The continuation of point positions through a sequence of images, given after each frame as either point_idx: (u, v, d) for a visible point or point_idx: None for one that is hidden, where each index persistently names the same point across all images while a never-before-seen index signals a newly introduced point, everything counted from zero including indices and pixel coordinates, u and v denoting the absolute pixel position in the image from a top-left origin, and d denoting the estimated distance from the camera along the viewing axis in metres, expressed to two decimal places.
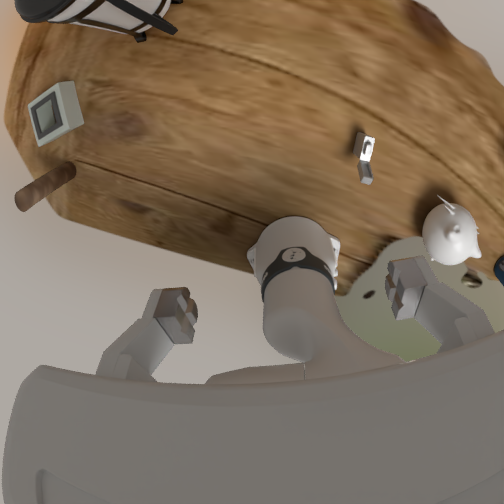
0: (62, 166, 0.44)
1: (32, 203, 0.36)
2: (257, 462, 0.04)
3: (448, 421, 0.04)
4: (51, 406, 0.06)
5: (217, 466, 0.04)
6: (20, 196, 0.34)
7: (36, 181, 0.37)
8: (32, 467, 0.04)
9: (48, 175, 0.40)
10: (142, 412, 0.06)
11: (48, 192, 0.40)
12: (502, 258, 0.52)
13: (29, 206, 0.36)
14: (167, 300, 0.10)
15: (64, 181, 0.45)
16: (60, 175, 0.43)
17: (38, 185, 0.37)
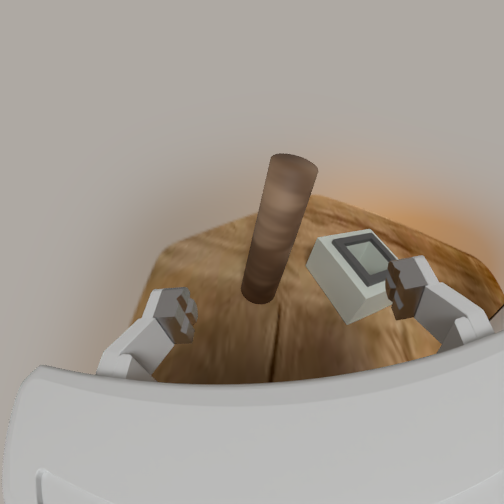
0: None
1: (283, 187, 0.21)
2: (257, 462, 0.04)
3: (448, 421, 0.04)
4: (51, 406, 0.06)
5: (217, 466, 0.04)
6: (306, 166, 0.22)
7: None
8: (32, 467, 0.04)
9: None
10: (142, 412, 0.06)
11: (269, 235, 0.24)
12: None
13: (283, 177, 0.21)
14: (167, 300, 0.10)
15: (258, 277, 0.28)
16: (278, 271, 0.28)
17: (301, 216, 0.24)
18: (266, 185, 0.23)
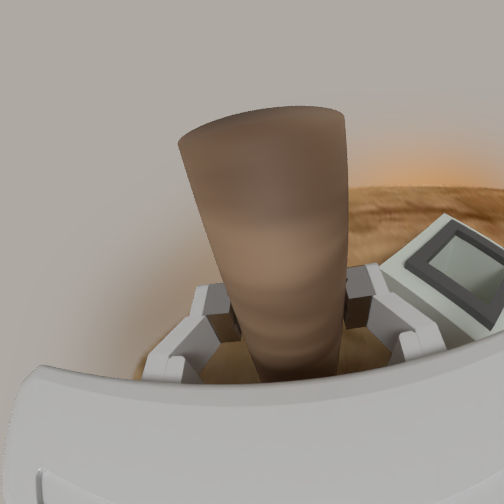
0: None
1: (245, 213, 0.06)
2: (257, 462, 0.04)
3: (448, 421, 0.04)
4: (51, 406, 0.06)
5: (217, 466, 0.04)
6: (300, 115, 0.06)
7: None
8: (32, 467, 0.04)
9: None
10: (142, 412, 0.06)
11: (273, 347, 0.09)
12: None
13: (226, 176, 0.05)
14: (216, 296, 0.10)
15: None
16: None
17: (343, 273, 0.08)
18: (203, 224, 0.07)
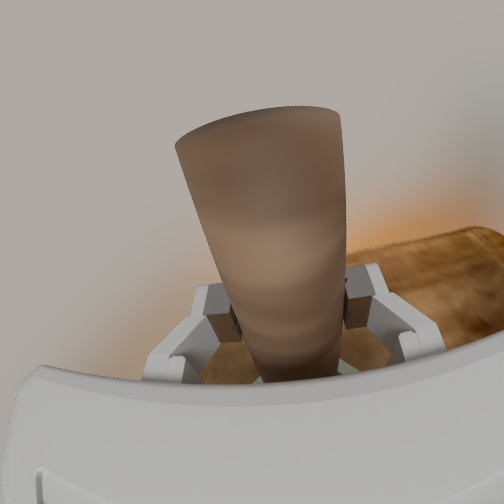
0: None
1: (242, 214, 0.06)
2: (257, 462, 0.04)
3: (447, 421, 0.04)
4: (51, 406, 0.06)
5: (217, 466, 0.04)
6: (296, 115, 0.06)
7: None
8: (32, 467, 0.04)
9: None
10: (141, 412, 0.06)
11: (273, 347, 0.09)
12: None
13: (222, 177, 0.05)
14: (217, 296, 0.10)
15: None
16: None
17: (341, 272, 0.08)
18: (202, 225, 0.07)
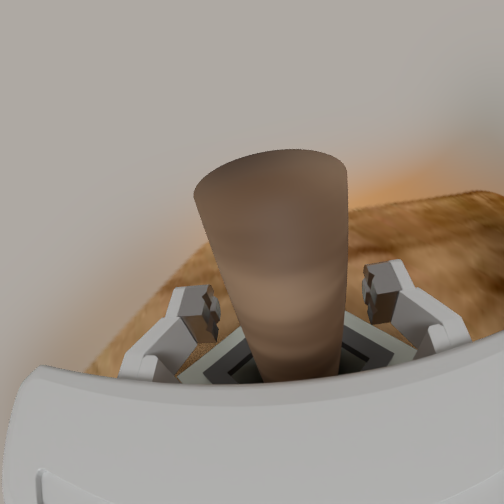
0: None
1: (258, 267, 0.06)
2: (257, 463, 0.04)
3: (448, 421, 0.04)
4: (51, 406, 0.06)
5: (217, 466, 0.04)
6: (306, 168, 0.07)
7: None
8: (32, 467, 0.04)
9: None
10: (141, 412, 0.06)
11: (280, 367, 0.09)
12: None
13: (241, 237, 0.06)
14: (192, 298, 0.10)
15: None
16: None
17: (341, 305, 0.08)
18: (218, 266, 0.08)
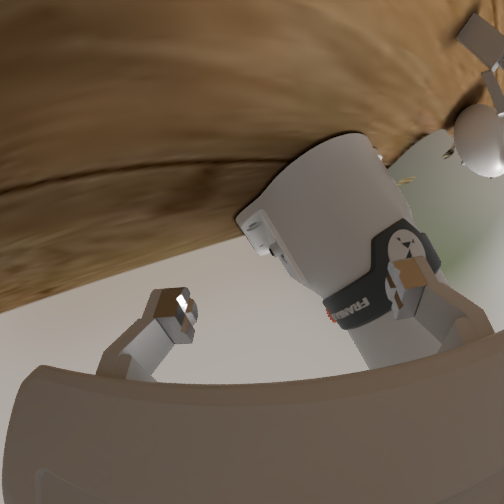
0: None
1: None
2: (257, 462, 0.04)
3: (448, 421, 0.04)
4: (51, 406, 0.06)
5: (217, 466, 0.04)
6: None
7: None
8: (32, 467, 0.04)
9: None
10: (142, 412, 0.06)
11: None
12: None
13: None
14: (167, 300, 0.10)
15: None
16: None
17: None
18: None
